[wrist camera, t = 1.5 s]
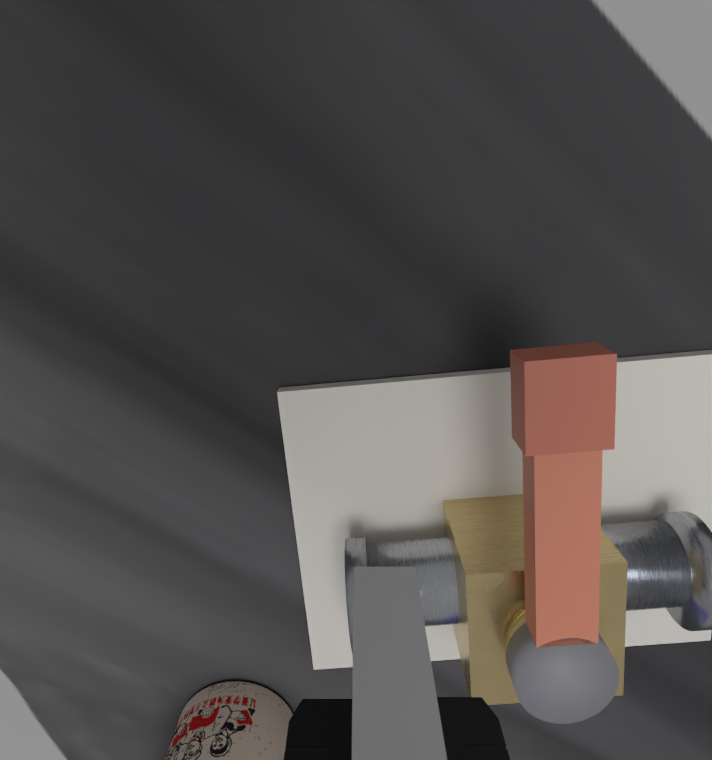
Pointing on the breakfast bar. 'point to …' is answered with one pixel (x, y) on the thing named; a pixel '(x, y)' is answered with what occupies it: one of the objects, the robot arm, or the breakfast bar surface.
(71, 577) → the breakfast bar surface
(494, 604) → the valve body
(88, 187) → the breakfast bar surface
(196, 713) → the teacup with lid
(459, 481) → the mounting board
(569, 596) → the lever
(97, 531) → the breakfast bar surface
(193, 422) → the breakfast bar surface
